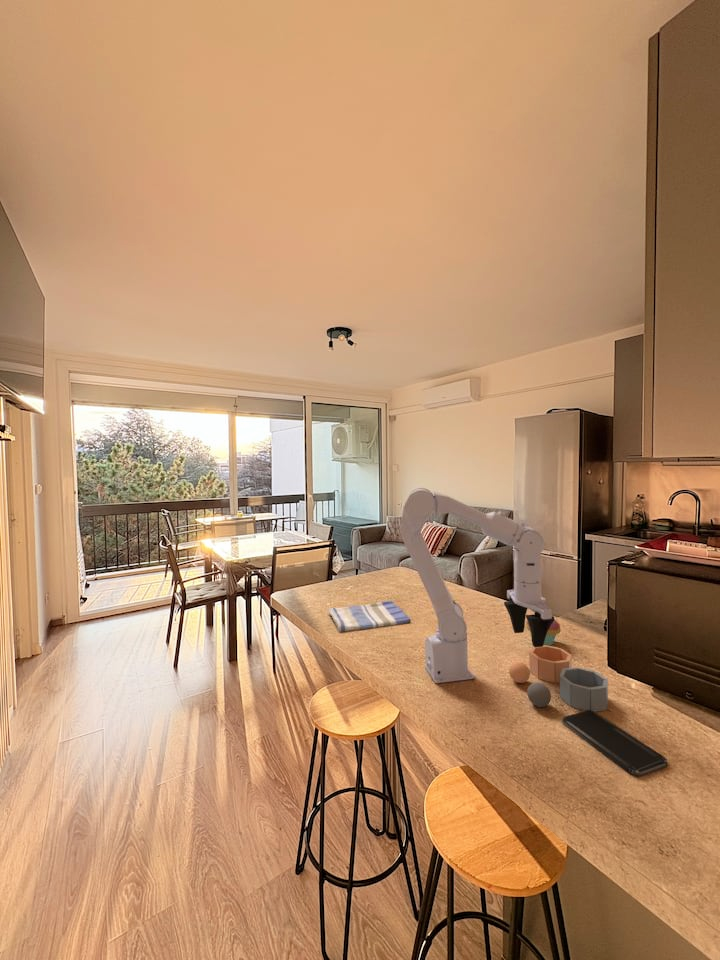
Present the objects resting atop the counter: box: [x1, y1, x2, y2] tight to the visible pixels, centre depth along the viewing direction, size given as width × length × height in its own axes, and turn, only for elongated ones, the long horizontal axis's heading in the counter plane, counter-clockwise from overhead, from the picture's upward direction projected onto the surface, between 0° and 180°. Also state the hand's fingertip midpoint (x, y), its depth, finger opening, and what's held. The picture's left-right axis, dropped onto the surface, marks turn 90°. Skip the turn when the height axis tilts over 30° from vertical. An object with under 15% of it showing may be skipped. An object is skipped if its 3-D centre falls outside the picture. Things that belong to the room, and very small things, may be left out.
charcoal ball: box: [527, 682, 552, 708], centre depth 83 cm, size 4×4×4 cm
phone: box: [561, 710, 668, 778], centre depth 72 cm, size 8×1×15 cm
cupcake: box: [525, 618, 561, 646], centre depth 111 cm, size 9×8×12 cm
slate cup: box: [559, 666, 609, 713], centre depth 85 cm, size 8×8×4 cm
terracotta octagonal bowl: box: [528, 645, 573, 684], centre depth 95 cm, size 8×8×4 cm
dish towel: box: [327, 600, 412, 633], centre depth 133 cm, size 17×24×3 cm
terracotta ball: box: [508, 660, 531, 684], centre depth 92 cm, size 4×4×4 cm
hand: (528, 639), depth 94 cm, fingers open, 7 cm apart
